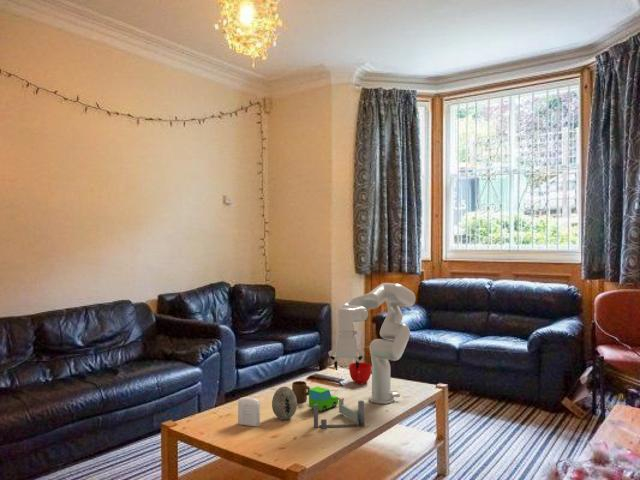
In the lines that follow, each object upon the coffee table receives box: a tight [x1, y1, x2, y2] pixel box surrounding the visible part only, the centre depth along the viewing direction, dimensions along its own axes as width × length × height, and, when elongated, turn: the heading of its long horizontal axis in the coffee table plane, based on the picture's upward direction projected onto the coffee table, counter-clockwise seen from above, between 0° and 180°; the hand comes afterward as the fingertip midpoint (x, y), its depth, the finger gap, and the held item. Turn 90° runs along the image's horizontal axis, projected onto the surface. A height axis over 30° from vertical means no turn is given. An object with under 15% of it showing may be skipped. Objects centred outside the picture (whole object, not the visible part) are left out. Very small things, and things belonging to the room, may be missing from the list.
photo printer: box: [237, 396, 261, 427], centre depth 227 cm, size 10×4×12 cm, turn 72°
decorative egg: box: [271, 386, 298, 420], centre depth 234 cm, size 12×12×15 cm
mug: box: [291, 380, 311, 404], centre depth 257 cm, size 12×8×9 cm, turn 44°
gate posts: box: [312, 400, 366, 430], centre depth 223 cm, size 23×4×11 cm, turn 91°
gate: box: [338, 396, 358, 424], centre depth 232 cm, size 16×2×7 cm, turn 29°
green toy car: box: [308, 386, 339, 413], centre depth 248 cm, size 10×13×10 cm
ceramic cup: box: [348, 362, 372, 385], centre depth 288 cm, size 13×17×10 cm
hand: (346, 369), depth 237 cm, fingers open, 9 cm apart
